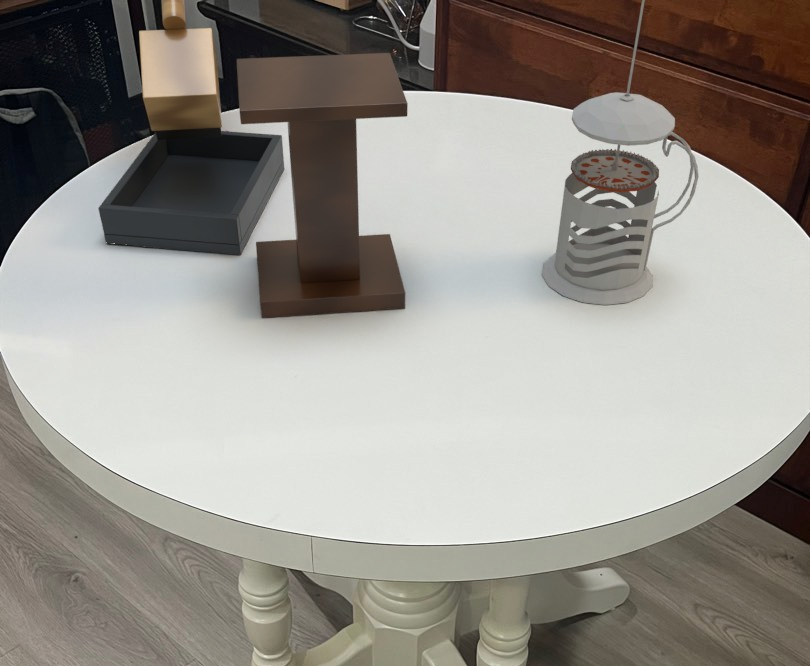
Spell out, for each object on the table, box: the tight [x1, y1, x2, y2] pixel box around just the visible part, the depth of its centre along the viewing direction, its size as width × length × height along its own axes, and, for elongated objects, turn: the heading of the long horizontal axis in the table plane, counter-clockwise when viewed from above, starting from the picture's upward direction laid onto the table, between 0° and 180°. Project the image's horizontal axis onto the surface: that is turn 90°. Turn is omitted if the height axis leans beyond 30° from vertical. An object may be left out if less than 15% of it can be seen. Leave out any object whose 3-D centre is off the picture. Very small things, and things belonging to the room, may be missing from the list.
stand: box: [236, 52, 409, 319], centre depth 80 cm, size 12×10×17 cm
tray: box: [97, 130, 285, 256], centre depth 95 cm, size 18×13×4 cm
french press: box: [541, 0, 699, 306], centre depth 79 cm, size 10×12×25 cm
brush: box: [138, 0, 223, 140], centre depth 91 cm, size 6×19×8 cm, turn 8°
